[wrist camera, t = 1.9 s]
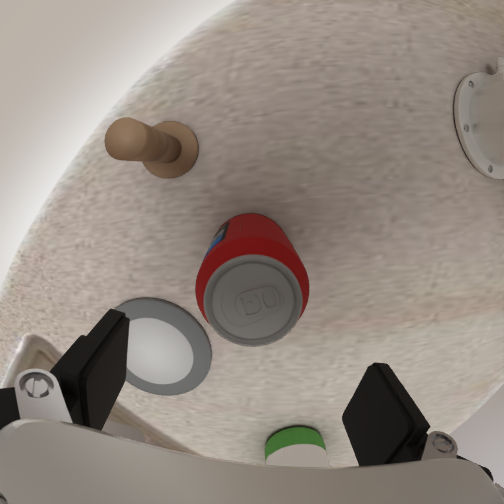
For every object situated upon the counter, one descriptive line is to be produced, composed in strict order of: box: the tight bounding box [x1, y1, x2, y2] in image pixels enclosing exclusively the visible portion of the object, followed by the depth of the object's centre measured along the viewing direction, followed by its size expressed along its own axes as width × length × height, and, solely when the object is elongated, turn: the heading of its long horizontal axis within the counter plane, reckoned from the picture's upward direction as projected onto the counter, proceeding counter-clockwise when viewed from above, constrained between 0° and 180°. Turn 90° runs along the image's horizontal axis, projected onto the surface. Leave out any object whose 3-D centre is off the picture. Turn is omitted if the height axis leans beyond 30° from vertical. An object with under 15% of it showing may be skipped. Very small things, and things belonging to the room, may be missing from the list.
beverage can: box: [195, 214, 309, 347], centre depth 22 cm, size 7×7×12 cm
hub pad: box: [115, 298, 212, 396], centre depth 30 cm, size 12×12×1 cm
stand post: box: [105, 118, 198, 178], centre depth 20 cm, size 5×5×11 cm
